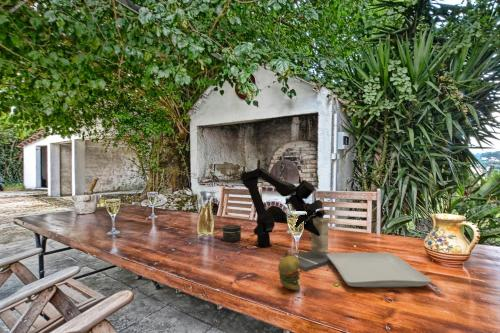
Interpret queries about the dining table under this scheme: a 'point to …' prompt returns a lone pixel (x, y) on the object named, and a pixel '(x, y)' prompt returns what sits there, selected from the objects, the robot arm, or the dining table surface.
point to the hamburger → (289, 272)
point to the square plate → (376, 270)
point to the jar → (231, 233)
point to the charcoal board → (313, 260)
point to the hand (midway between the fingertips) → (322, 234)
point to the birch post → (320, 241)
